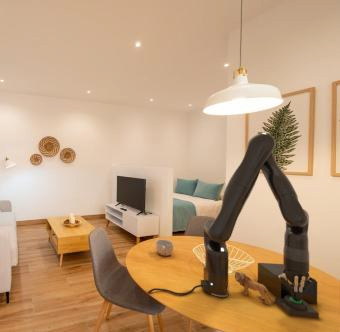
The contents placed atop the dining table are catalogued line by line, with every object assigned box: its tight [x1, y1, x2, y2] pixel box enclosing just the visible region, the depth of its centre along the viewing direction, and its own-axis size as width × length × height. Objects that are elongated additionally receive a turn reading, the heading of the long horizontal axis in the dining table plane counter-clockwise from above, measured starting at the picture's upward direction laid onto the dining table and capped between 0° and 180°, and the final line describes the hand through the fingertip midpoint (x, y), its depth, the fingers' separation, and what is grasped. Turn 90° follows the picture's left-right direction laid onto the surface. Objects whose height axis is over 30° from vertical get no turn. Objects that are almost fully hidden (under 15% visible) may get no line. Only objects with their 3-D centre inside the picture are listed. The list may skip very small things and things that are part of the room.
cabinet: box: [257, 262, 318, 305], centre depth 98 cm, size 16×14×10 cm
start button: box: [290, 297, 302, 304], centre depth 86 cm, size 4×4×2 cm
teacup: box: [155, 238, 175, 257], centre depth 138 cm, size 14×11×8 cm
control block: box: [274, 295, 320, 319], centre depth 86 cm, size 10×8×4 cm
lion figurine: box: [234, 270, 276, 305], centre depth 95 cm, size 15×5×9 cm, turn 39°
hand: (295, 299), depth 86 cm, fingers closed
